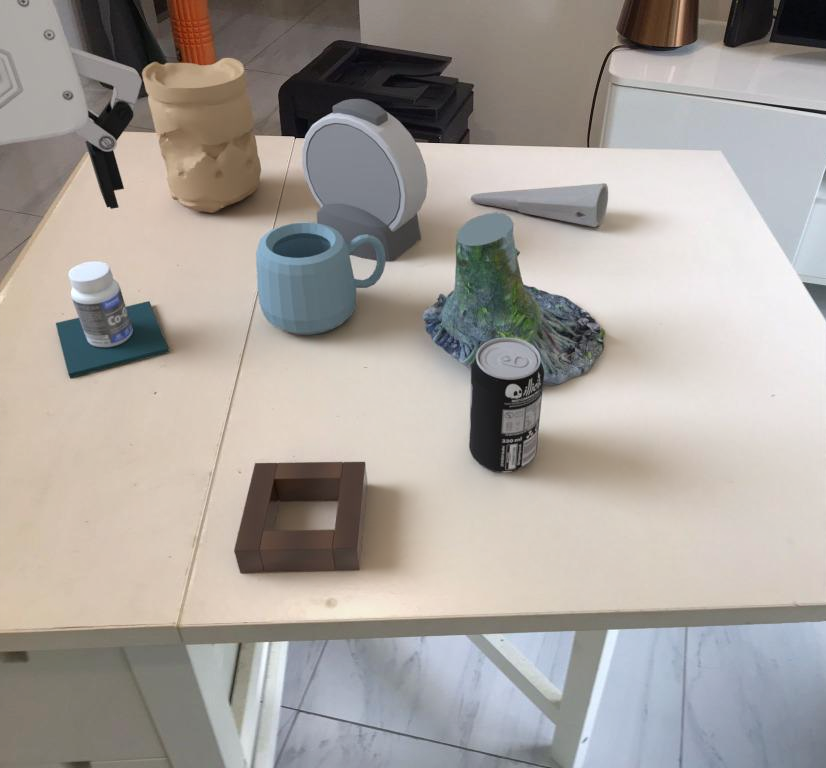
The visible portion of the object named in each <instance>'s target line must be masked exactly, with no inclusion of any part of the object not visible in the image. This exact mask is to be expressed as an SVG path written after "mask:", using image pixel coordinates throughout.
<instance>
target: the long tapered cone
mask: <svg viewBox="0 0 826 768" xmlns="http://www.w3.org/2000/svg"><path fill="white" fill-rule="evenodd" d="M470 200H471V202H473V203H475V204H479V205H484V206H490V207H495V208H499V209H500V208H502V209H505V210H512V211H516V212H518V213H521V214H527V215H531V216H537V217H541V218H547V219H552V220H556V221H563V222H567V223H573V224H577V225H582V226H588V227H592V228H596V227H600V226H601V225H602V223H603V221H604V219H605V216H606V214H607V213H606V212H607V209H608V204H609V203H608V202H609V186H608V184H607V183H590V184H579V185H567V186H555V187H541V188H528V189H516V190H503V191H491V192H481V193H475V194H471V196H470Z"/></svg>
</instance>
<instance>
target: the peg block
mask: <svg viewBox="0 0 826 768" xmlns="http://www.w3.org/2000/svg"><path fill="white" fill-rule="evenodd" d="M367 473H368V472H367V464H366V461H306V462H305V461H301V462H298V461H296V462H255V463H254V465H253V471H252V475H251V479H250V483H249V487H248V490H247V495H246V499H245V503H244V507H243V512H242V516H241V520H240V524H239V528H238V532H237V536H236V540H235V544H234V549H233V552H234V555H235V559H236V563H237V567H238V570H239V573H240V574H253V573H254V574H256V573H259V574H261V573H300V572H301V573H302V572H335V571H336V572H337V571H338V572H339V571H360V569H361V559H362V549H363V548H362V547H363V537H364V527H365V515H366V504H367V493H368V475H367ZM313 501H314V502H315V501H317V502H319V501H337V508H336V517H335V523H334V524H335V525H334V529H297V530H296V529H293V530H292V529H291V530H290V529H289V530H274V527H275V523H276V516H277V513H278V512H277V511H278V508H279V502H313Z"/></svg>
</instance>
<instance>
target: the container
mask: <svg viewBox="0 0 826 768" xmlns="http://www.w3.org/2000/svg"><path fill="white" fill-rule="evenodd" d="M141 76H142V82H143V83H144V89H145V92H146V94H147V96H148V97H147V101H148V105H149V108H150V113H151V117H152V121H153V126H154V130H155V133H156V135H157V138H158V146H159V151H160V154H161V157H162V159H163V161H164V165H165V168H166V175H167V177H166V178H167V185H168V187H169V190H170V196H171V199H173V200H174V201H178V202H179V203H180V205H182V206H183V208H187V209H189V210H194V211H198V212H205V213H212V214H214V213H217V212H219V211H220V210H222V209H224V208H226V207H228V206H230V205H233V204H236V203H238V202H241V201H243V200H245V199H246V198H247V197H248V196H250V195H252V194H254V193H255V192H256V191H257V189H258V188H259V184H260V180H261V173H262V165H261V160H260V157H259V152H258V144H257V139H256V136H255V134H254V127H255V121H254V116H253V109H252V105H251V99H250V96H249V93H248V90H247V88H248V77H247V72H246V69H245V66H244V64H243V63H242V62H241V61H240V60H238V59H236V58H233V57H222V58H221V59H219V60H218V61H216V62H215V63H212V64H205V65H204V64H203V65H200V64H197V63H191V62H166V63H164V64H162V63H159V62H158V61H153V62H151V63H149V64H147V65H146V66H145V67H144V68H143V69H142V72H141Z"/></svg>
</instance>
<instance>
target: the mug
mask: <svg viewBox="0 0 826 768" xmlns="http://www.w3.org/2000/svg"><path fill="white" fill-rule="evenodd" d="M364 243H369V244H371V245H373V247H374V248H375V251H376V255H377V260H376V264H375V269H374V270H373V272H372V274H371V275H370V276H369V277H367V278H365V279H358V278H355V275H354V271H353V265H352V262H351V261H352V260H351V256H352V255H351V254H352V253H353V252H354V251H355V250H356V249H357V248H358V247H359V246H360V245H362V244H364ZM255 262H256V263H255V265H256V282H257V294H258V295H257V297H258V302H259V303H258V304H259V306H260V309H261V311H262V315H263V316H264V318H265V319H266V320H267V322H268V323H269V324H271V325H273V326H274V327H276V328H277V329H280V330H282V331H283V332H284V331H285V332H287V333H290V334H293V335H294V334H295V335H302V336H303V335H305V336H310V335H311V336H312V335H318V334H323V333H326V332H329V331H332V330H334V329H335V328H337V327H339V326H340V325H342V324H343V323H344V322H345V321H347V320H348V319H349V318H350V317H351V316H352V314H353V313H354V312H355V309H356V301H357V289H368V288H370V287H372V286H374V285H375V284H377V283H378V282H379V280H381V277H382V276H383V273H384V270H385V267H386V261H385V250H384V247H383V245H382V243H381V241H380V240H379V239H378V238H376V237H374V236H371V235H367V234H365V235H359V236H358V237H356V238H354V239H353V240H352V241H351V242H350V243H349V244H348V245H346V242H345V240H344V239H343V237H342V235H341V234H340V233H339V232H338V231H337V230H335V229H333V228H332V227H329V226H326V225H323V224H317V222H295V223H294V222H293V223H288V224H283V225H280V226H277V227H275V228H274V229H271V230H269V231H268V232H266V233H264V235H263V236H262V237H261V238H260V239H259V241H258V245H257V248H256V253H255Z"/></svg>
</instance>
